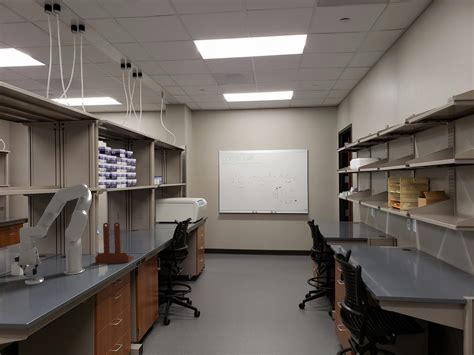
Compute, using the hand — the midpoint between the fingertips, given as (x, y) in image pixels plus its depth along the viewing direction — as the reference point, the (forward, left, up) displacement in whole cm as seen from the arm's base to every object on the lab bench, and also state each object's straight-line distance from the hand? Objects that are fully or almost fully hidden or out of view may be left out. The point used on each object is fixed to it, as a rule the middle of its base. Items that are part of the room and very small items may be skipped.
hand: (30, 274), depth 212 cm
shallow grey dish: (+9, +7, -3) cm, 11 cm away
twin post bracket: (-37, +42, -3) cm, 56 cm away
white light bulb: (0, 0, -1) cm, 1 cm away
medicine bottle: (-12, -13, -3) cm, 18 cm away
